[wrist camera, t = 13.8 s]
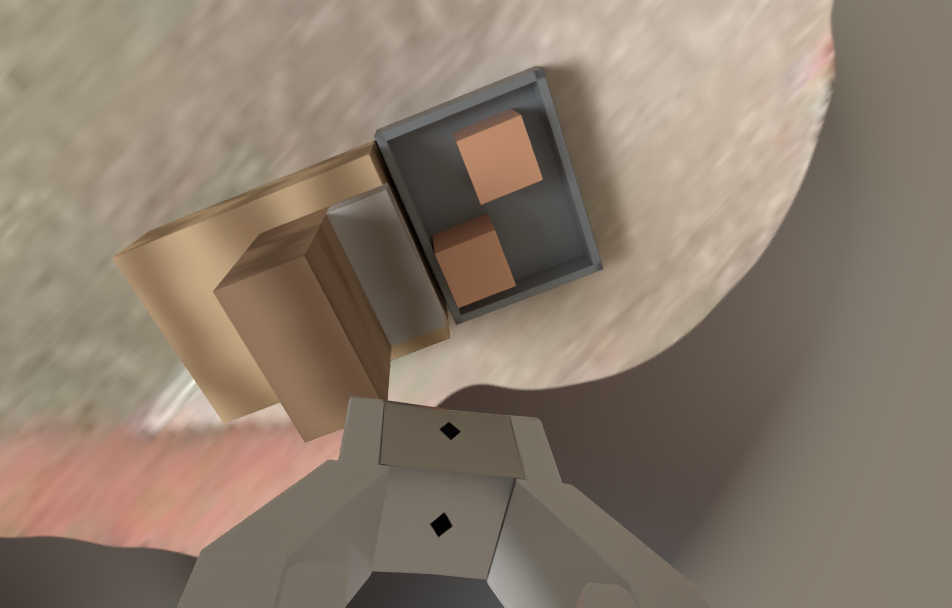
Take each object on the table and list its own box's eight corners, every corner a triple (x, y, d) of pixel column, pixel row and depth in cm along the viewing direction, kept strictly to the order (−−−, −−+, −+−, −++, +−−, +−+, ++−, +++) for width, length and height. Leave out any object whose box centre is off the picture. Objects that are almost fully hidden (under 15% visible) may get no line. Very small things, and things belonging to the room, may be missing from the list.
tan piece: (244, 381, 50) (223, 423, 45) (149, 231, 44) (112, 257, 39) (446, 304, 49) (450, 337, 43) (374, 140, 43) (368, 154, 38)
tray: (453, 309, 49) (456, 324, 46) (376, 130, 43) (374, 135, 40) (592, 256, 48) (603, 268, 46) (534, 66, 42) (542, 67, 40)
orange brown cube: (458, 308, 44) (516, 285, 43) (434, 253, 42) (494, 229, 42) (454, 285, 48) (507, 264, 48) (432, 234, 46) (487, 213, 46)
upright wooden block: (328, 358, 43) (304, 442, 34) (259, 233, 39) (212, 291, 30) (444, 313, 43) (452, 387, 34) (387, 182, 39) (379, 226, 30)
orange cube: (543, 179, 41) (531, 167, 45) (521, 114, 39) (510, 108, 43) (481, 204, 41) (474, 190, 45) (456, 141, 39) (452, 132, 43)
